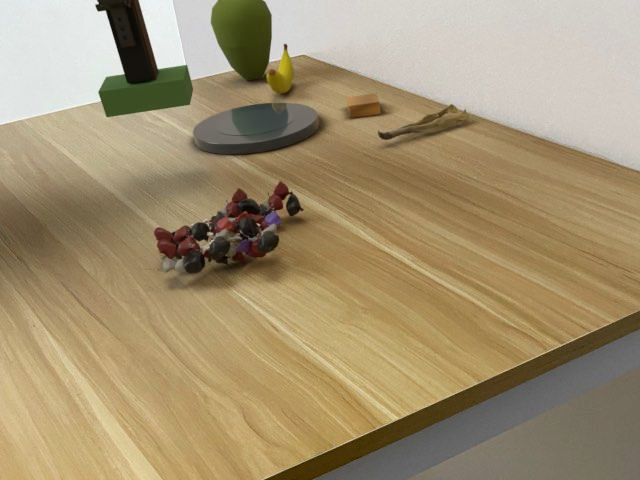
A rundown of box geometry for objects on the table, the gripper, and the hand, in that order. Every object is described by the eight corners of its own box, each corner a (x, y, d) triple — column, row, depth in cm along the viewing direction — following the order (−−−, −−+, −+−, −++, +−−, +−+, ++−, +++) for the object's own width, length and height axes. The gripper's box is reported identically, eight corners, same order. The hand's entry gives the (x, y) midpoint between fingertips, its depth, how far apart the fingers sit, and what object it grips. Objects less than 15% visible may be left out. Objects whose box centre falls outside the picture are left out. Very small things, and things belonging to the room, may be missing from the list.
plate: (190, 161, 97) (187, 150, 96) (199, 121, 109) (196, 111, 108) (321, 144, 98) (320, 133, 97) (316, 105, 109) (315, 95, 108)
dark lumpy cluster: (316, 266, 71) (305, 211, 69) (156, 295, 71) (138, 241, 68) (305, 221, 83) (296, 173, 81) (168, 246, 83) (154, 198, 80)
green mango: (213, 86, 121) (193, -5, 113) (246, 70, 126) (228, -18, 118) (260, 89, 118) (242, -5, 110) (292, 72, 123) (277, -18, 115)
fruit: (285, 81, 119) (278, 43, 116) (298, 80, 119) (292, 42, 116) (269, 103, 112) (261, 62, 109) (283, 102, 112) (276, 61, 108)
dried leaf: (384, 133, 92) (385, 151, 94) (472, 105, 97) (472, 122, 99) (364, 123, 95) (366, 141, 96) (451, 96, 100) (452, 113, 101)
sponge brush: (106, 117, 86) (70, 7, 79) (113, 101, 90) (79, -4, 83) (190, 105, 86) (161, -6, 79) (193, 89, 90) (166, -17, 83)
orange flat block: (350, 118, 104) (348, 105, 103) (348, 109, 107) (346, 96, 106) (380, 114, 104) (379, 101, 103) (377, 105, 107) (376, 92, 106)
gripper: (83, -233, 64) (170, 91, 80) (112, -230, 76) (183, 52, 92) (-11, -221, 64) (95, 101, 80) (33, -220, 76) (118, 61, 92)
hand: (142, 75), depth 86 cm, fingers closed on sponge brush, 3 cm apart
